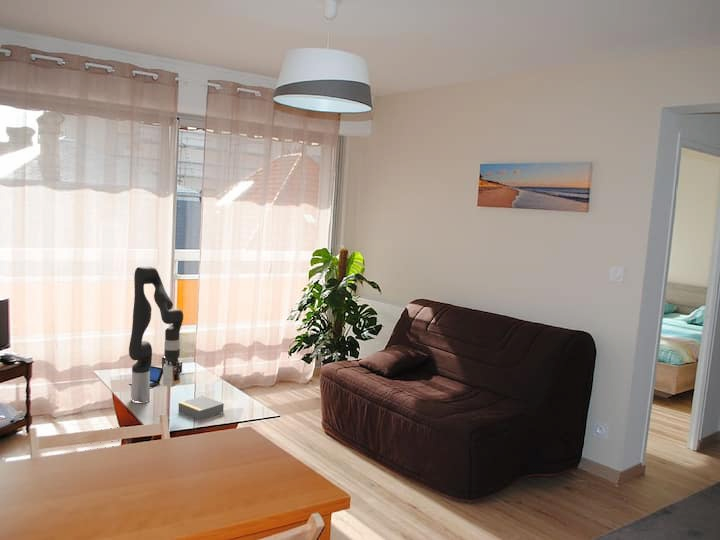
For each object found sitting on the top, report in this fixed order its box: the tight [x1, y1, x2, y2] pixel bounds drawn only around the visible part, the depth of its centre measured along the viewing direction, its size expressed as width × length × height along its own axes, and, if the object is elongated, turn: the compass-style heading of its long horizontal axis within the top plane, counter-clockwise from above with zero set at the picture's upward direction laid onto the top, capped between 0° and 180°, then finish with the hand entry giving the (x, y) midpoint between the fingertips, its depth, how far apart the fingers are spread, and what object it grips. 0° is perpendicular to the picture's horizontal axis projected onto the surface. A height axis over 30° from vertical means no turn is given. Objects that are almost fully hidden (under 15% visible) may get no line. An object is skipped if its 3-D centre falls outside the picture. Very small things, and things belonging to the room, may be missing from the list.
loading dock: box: [178, 395, 225, 421], centre depth 323 cm, size 17×16×5 cm
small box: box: [162, 364, 181, 388], centre depth 313 cm, size 8×6×10 cm
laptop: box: [150, 365, 163, 388], centre depth 363 cm, size 16×13×9 cm
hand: (171, 378), depth 313 cm, fingers closed on small box, 7 cm apart
